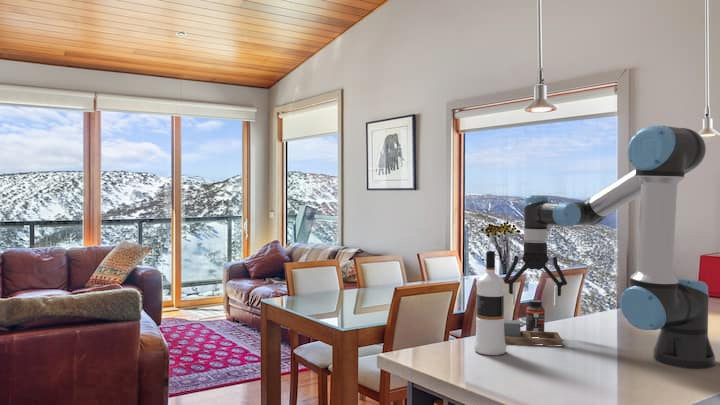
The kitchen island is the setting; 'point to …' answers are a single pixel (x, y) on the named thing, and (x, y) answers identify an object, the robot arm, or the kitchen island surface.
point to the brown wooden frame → (526, 338)
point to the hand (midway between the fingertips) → (534, 304)
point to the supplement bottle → (535, 316)
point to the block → (512, 328)
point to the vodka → (490, 311)
